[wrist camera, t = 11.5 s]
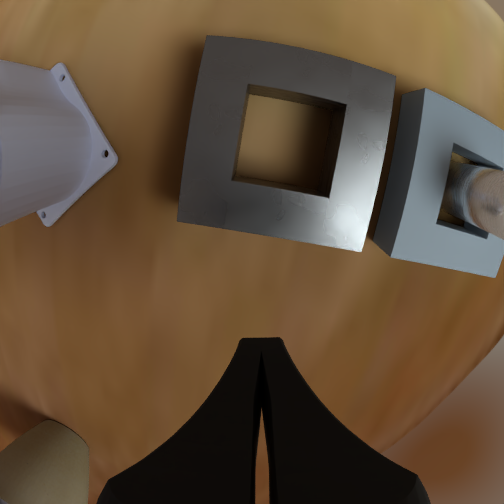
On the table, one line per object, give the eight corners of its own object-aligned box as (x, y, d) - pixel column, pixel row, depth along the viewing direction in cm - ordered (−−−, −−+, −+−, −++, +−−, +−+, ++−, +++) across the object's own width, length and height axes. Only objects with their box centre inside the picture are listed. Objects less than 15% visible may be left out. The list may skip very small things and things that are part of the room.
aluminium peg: (420, 195, 17) (485, 222, 11) (440, 150, 16) (510, 160, 10) (452, 219, 18) (515, 252, 11) (471, 177, 17) (538, 196, 10)
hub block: (372, 241, 19) (390, 257, 16) (402, 94, 15) (425, 87, 12) (473, 262, 19) (495, 277, 16) (501, 143, 16) (526, 146, 13)
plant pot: (25, 381, 25) (-37, 472, 10) (127, 449, 28) (93, 554, 13) (20, 422, 29) (-21, 491, 14) (98, 474, 32) (72, 549, 17)
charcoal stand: (189, 209, 18) (176, 221, 15) (214, 52, 15) (206, 35, 12) (346, 236, 18) (361, 252, 16) (375, 85, 15) (396, 76, 12)
